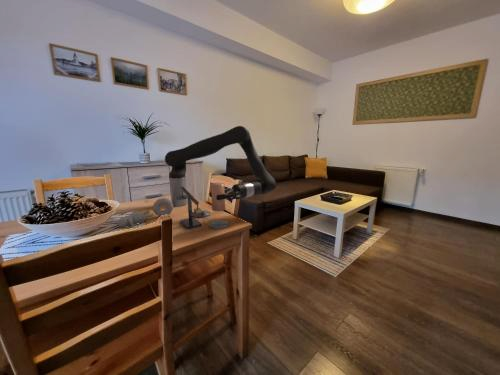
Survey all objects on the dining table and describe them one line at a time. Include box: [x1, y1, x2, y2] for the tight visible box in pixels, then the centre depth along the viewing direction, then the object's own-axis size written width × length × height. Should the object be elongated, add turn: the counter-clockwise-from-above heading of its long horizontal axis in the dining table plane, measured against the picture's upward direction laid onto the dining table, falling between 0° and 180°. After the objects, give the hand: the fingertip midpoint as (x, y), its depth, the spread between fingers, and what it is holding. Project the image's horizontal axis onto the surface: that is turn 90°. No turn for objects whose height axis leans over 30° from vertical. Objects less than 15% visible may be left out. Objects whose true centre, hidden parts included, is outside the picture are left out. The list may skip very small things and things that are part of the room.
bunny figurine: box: [116, 210, 155, 228], centre depth 100 cm, size 10×5×15 cm
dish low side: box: [208, 219, 229, 230], centre depth 98 cm, size 9×9×1 cm
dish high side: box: [196, 209, 212, 219], centre depth 112 cm, size 9×9×1 cm
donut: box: [152, 197, 174, 217], centre depth 108 cm, size 10×4×10 cm, turn 120°
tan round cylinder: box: [210, 182, 226, 212], centre depth 95 cm, size 6×6×12 cm
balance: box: [176, 187, 205, 231], centre depth 97 cm, size 23×7×17 cm, turn 38°
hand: (213, 196), depth 93 cm, fingers closed on tan round cylinder, 6 cm apart
